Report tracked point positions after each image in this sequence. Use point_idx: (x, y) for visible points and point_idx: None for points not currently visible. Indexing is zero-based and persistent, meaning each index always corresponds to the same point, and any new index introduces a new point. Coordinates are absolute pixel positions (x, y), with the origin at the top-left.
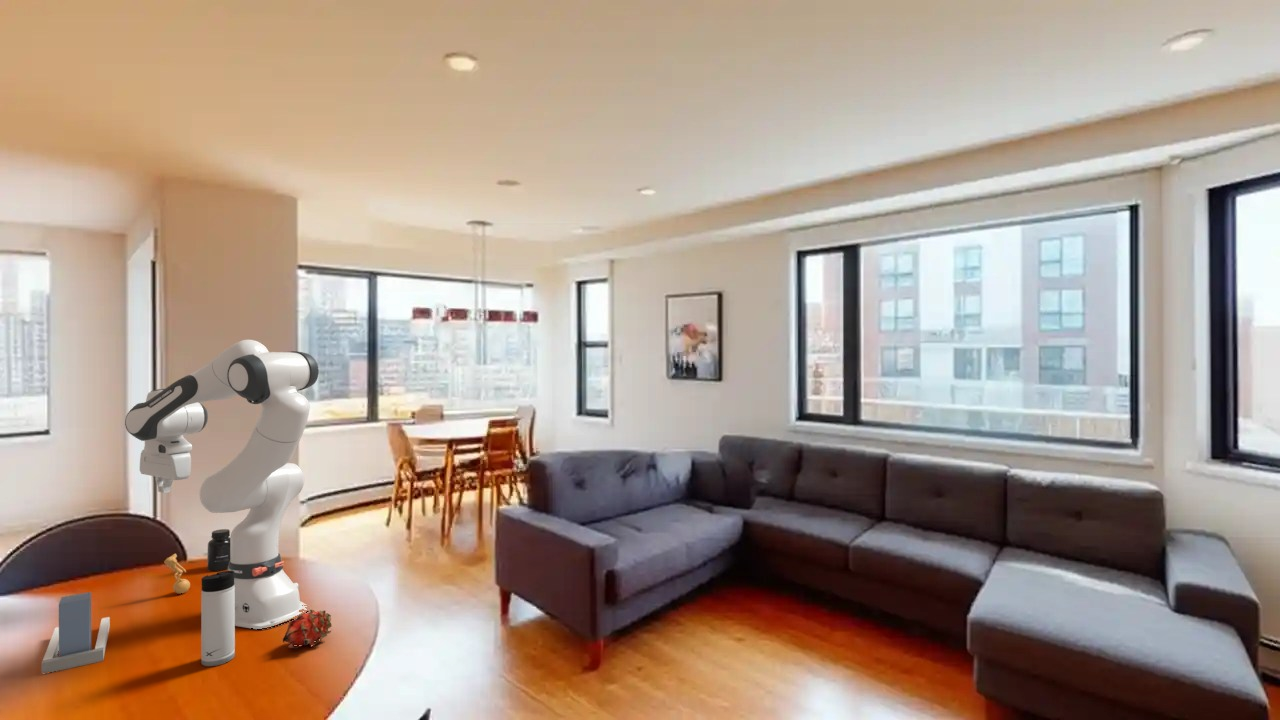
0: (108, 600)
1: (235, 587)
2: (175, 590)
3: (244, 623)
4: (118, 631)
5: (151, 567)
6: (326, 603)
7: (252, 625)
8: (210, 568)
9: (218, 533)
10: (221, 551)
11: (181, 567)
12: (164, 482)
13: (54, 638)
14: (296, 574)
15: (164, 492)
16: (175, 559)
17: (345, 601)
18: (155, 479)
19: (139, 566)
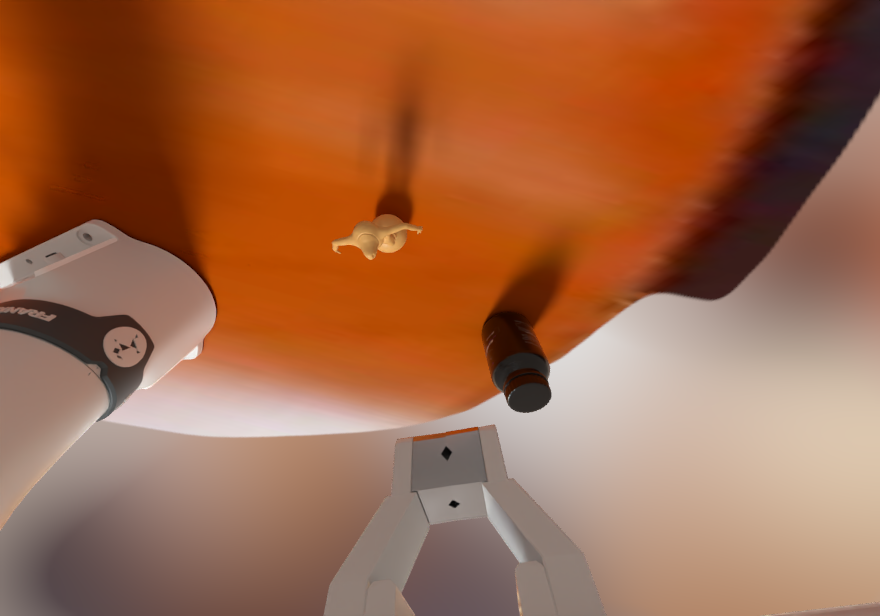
0: (488, 69)
1: (13, 288)
2: (378, 216)
3: (23, 252)
4: (163, 7)
5: (668, 235)
6: None
7: (6, 260)
8: (499, 316)
9: (513, 389)
10: (489, 357)
11: (333, 247)
12: (340, 570)
13: None
14: (336, 399)
15: (396, 444)
16: (359, 247)
17: None
18: (585, 562)
19: (710, 218)
